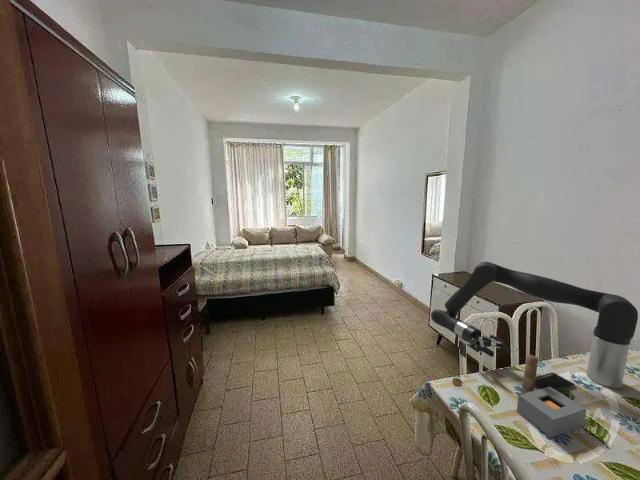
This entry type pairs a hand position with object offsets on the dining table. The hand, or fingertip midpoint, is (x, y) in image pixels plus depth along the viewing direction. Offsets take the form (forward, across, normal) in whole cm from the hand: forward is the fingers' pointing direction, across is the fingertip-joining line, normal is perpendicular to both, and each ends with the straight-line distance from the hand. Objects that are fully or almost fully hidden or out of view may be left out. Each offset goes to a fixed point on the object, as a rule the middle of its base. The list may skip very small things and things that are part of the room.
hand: (501, 352), depth 103 cm
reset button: (+21, -5, +8) cm, 23 cm away
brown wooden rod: (+11, 0, +9) cm, 14 cm away
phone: (+10, +13, +10) cm, 19 cm away
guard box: (+21, -5, +9) cm, 24 cm away
